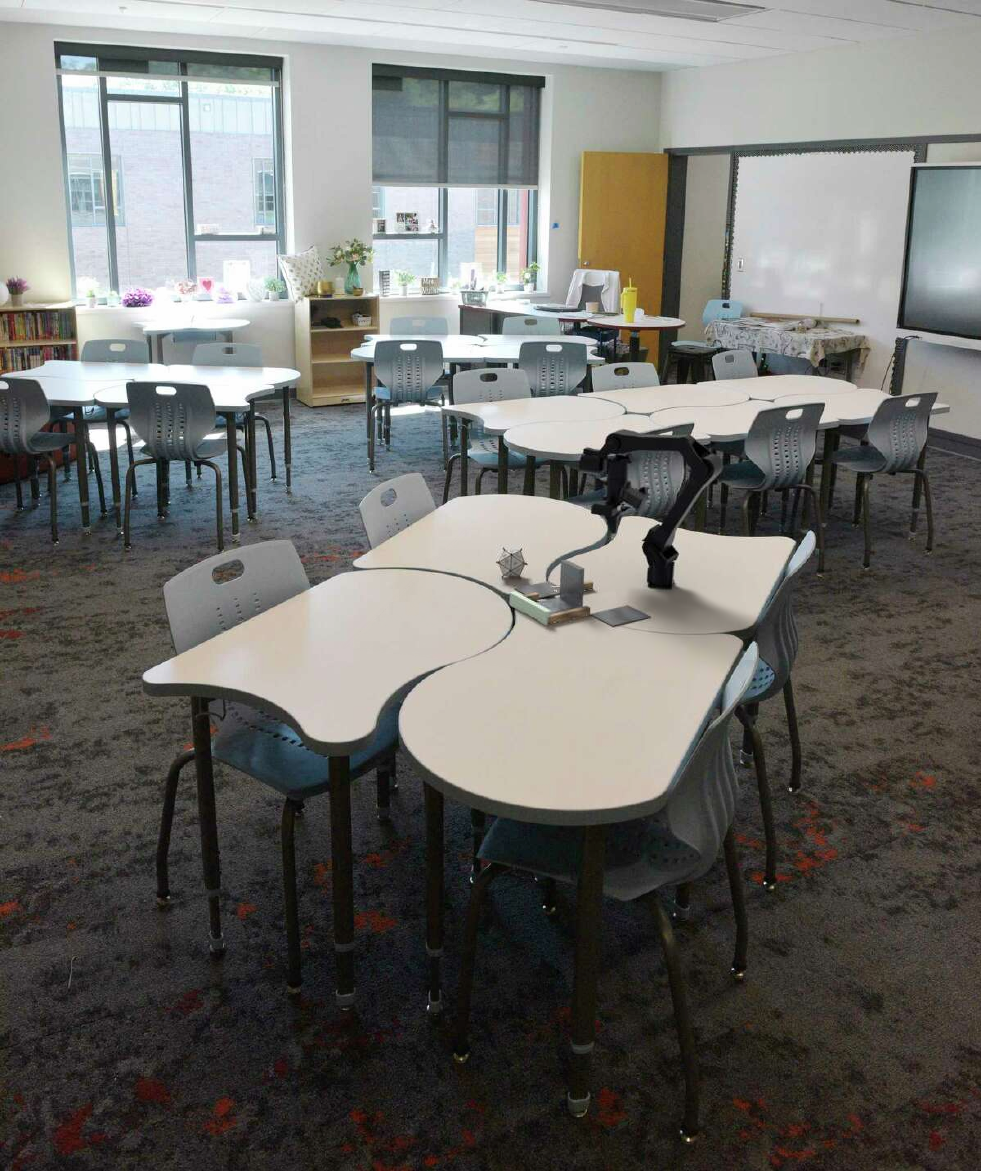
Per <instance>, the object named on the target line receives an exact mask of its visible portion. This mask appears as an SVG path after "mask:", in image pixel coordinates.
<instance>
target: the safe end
mask: <svg viewBox="0 0 981 1171" xmlns="http://www.w3.org/2000/svg"><path fill="white" fill-rule="evenodd" d="M523 595H524V594H522V593H520V592H518V591H516V590H515V591H510V592H509V606H511V607H512V608H514V609H516V610H518V611H519V612H521V613H523V614H524V613H526V614H528V615H529V616H528V615H527V616H528V617H530V616H531V617H530V618H532V617H534V618H535V619H537V620H538V623H540V622H542V623H543V625H544V624H545V625H544V626H548V625H547V623H548V617H551V611H550V610H549V609H547V608H545V607H543V606H541V605H539V604H537V603H536V602H534V601H532V600H530V599H528V598H526V597H525V596H523ZM526 614H525V615H526ZM535 619H534V620H535ZM537 620H536V621H537ZM542 623H541V624H542Z"/></svg>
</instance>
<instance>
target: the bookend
mask: <svg viewBox="0 0 981 1171" xmlns="http://www.w3.org/2000/svg"><path fill="white" fill-rule="evenodd" d="M559 574H560V575H559V576H560V579H559V587H560V594H559V597H556V598H550V599H545V600H542V601H541V600H539V601H538V602H536V603H537V604H539V605H541V606H543V607H545V608H547V609H549V610H550V611H551V614H553V613H557V612H562V611H566V610H570V609H575V608H579V607H583V605H584V591H583V589H584V582H585V568H584V567H583V566H580V565H578V564H576V563H573V562H572V561H570V560H567V559H562V560H560V573H559Z"/></svg>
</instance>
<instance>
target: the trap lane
mask: <svg viewBox="0 0 981 1171" xmlns="http://www.w3.org/2000/svg"><path fill="white" fill-rule="evenodd" d="M551 586H558V585H557V584H555V583H553V582H551V581H549V580H548V581H543V582H539V583H534V584H530V585H525V586H519V587H516V588H514V590H515V591H516V592H518V593H519V594H521V595H523V596H525V597H526V598H528V599H530V600H532V601H537V600H539V601H540V599H543V598H548V597H552V596H557V594H558V595H560V586H559V587H551ZM589 589H592V590H594V581H592V580H586V581H584V589H583V592H585V591H584V590H588V591H590V590H589ZM554 590H557V592H556V591H554ZM588 616H591V617H593V618H594V619H597V620H599V621H601V622H602V623H605V624H606V625H608V626H610V627H612V628H614V627H618V626H621V625H625V624H630V623H634V622H638V621H642V620H647V619H650V618H651V617H652V616H650V615H649V614H647V613H645V612H643V611H641V610H638V609H636V608H634V607H632V606H630V605H629V604H627V605H623V606H618V607H615V608H614V607H613V608H609V609H606V610H601V611H597V612H594V613H591V606H588V605H584V606H583V607H579V608H575V609H570V610H566V611H562V612H557V613H553V614H551V617H548V623H547V624H550V625H552V624H551V623H554V622H559V623H562V621H563V622H567V621H570V620H569V619H571V620H574V619H573V618H576V619H579V618H578V617H580V618H584V617H588ZM566 620H567V621H566ZM554 624H555V623H554Z"/></svg>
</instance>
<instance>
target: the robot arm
mask: <svg viewBox="0 0 981 1171" xmlns="http://www.w3.org/2000/svg"><path fill="white" fill-rule="evenodd" d="M582 450H583V451H582V452H583V453H582V454H581V456H580V458H579V461H578V468H579V471H580V473H585V474H591V475H597V476H602V475H603V474H604V473H606V479H605V480H603V484H602V485H603V486H605V495H603V496H602V500H599V501H597V502H594V503H593V504H592V505H591V506H590V514H591V515H598V516H602V517H604V519H605V520H606V522H607V525H608V528H609V530H610V533H611V534H614V535H615V534H618V530H619V526H620V524H621V521H622V518H623V516H624V514H625V513H627V512H628V510H630V509H631V507H632V508H633V509H635V510H640V509H641V508H644V507H645V504H646V502H647V501H648V500H649V499H650V497H649V496H650V494H649V488H648V487H646V486H641V487H640V488H639V489H638V487H636V488H635V487H632V482H631V480H629V467H630V466H629V464H630V465H632V464H633V463H635V462H637V460H638V459H637V458H636V457H635V456H633V454H632V453H631V452H635V451H656V452H657V451H658V452H660V451H661V452H663V451H664V452H679V453H680V455H681V456H682V459H683V460H684V462H685V463H686V465H687V466H688V468H690V469H691V470H690V472H689V473H688V474H689V475H688V480H687V484H686V485H685V487H684V489H683V490H682V492H681V493H680V495H679V496H678V497H677V500H676V501H675V502H674V504H673V506H672V507H671V509H670V510H669V512H668V513H667V514H666V516H665V518H664V520H663V521H662V523H661V525H660V523H658V524H655V525H654V526H652V527H651V528H649V529H648V531H647V533H646V536H644V538H643V539H642V540H641V541H642V542H643V543H642V546H641V549H642V552H643V554H644V556H645V558H646V562H647V565H648V567H647V573H646V583H647V587H648V588H656V589H667V590H672V589H673V587H674V584H675V579H674V578H675V566H676V565H675V564H676V562H675V561H677V560H678V558H679V556H680V553H679V552H678V550H677V549H676V547H674V546H673V543H674V541H675V538H676V537H675V536H676V532H677V529H679V526H680V525H682V524H681V523H682V522H683V521H684V520H685V518H686V516H687V514H688V513H689V512H690V510H691V509H692V507H693V506H694V504H695V503H696V501H697V500H698V498H699V496H700V494H701V493H702V491H703V490H704V489H705V488H707V487H708V485H710V484H711V483H712V482H713V481H714V480H715V479H716V478H717V477H718V476H719V474H721V473H722V471H723V468H724V464H723V460H722V459H721V457H719V455H717V454H714V453H713V452H712V451H711V450H710V449H709V448H707V447H706V446H705V445H703V444H702V443H700V442H699V441H697V439H696V438H695V437H694V436H693V435H691V434H688V433H687V434H643V433H640V432H637V431H634V430H629V429H625V428H621V429H618V430H616V431H614V432H611V433H609V434H608V435H607V436H606V438H605V439H604V444H603V445H602V447H601V448H600V449H598V448H597V449H596V448H592V447H585V448H583V449H582ZM625 454H626V455H625ZM611 455H613V456H611ZM627 505H629V506H627Z"/></svg>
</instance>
